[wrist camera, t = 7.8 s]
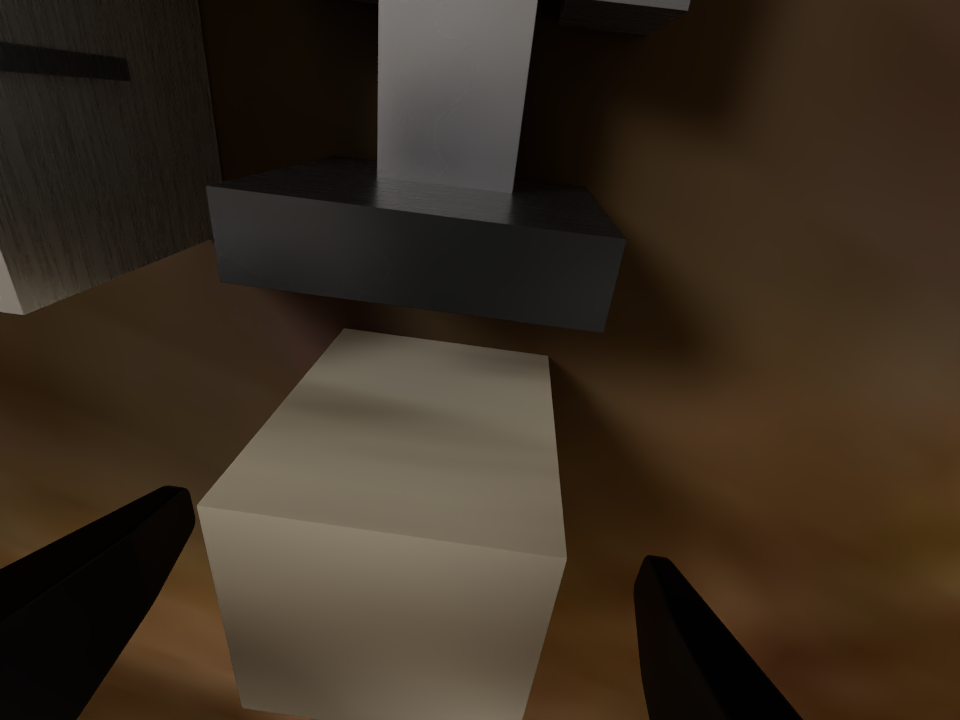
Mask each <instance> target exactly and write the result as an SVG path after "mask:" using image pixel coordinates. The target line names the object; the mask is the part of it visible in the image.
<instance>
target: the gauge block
mask: <svg viewBox="0 0 960 720" xmlns="http://www.w3.org/2000/svg"><path fill="white" fill-rule="evenodd" d="M197 509H198V513H199V518H200V522H201V527H202V531H203V536H204V540H205V545H206V549H207V554H208V558H209V563H210V567H211V571H212V576H213V580H214V585H215V589H216V594H217V598H218V603H219V607H220V612H221V616H222V621H223V625H224V629H225V634H226V638H227V643H228V647H229V652H230V656H231V661H232V665H233V670H234V674H235V679H236V683H237V688H238V692H239V696H240V701H241V705H242V708H246V709H252V710H259V711H265V712H272V713H278V714H285V715H291V716H298V717H304V718H311V719H317V720H522V719H523V715H524V712H525V708H526V705H527V701H528V697H529V694H530V690H531V687H532V683H533V679H534V676H535V672H536V669H537V665H538V661H539V658H540V654H541V651H542V647H543V643H544V640H545V636H546V633H547V629H548V625H549V622H550V618H551V615H552V611H553V608H554V604H555V600H556V597H557V593H558V590H559V586H560V582H561V579H562V575H563V572H564V568H565V564H566V561H567V553H566V542H565V532H564V521H563V510H562V500H561V489H560V478H559V468H558V457H557V446H556V436H555V425H554V414H553V404H552V393H551V383H550V372H549V361H548V356H546V355H538V354H531V353H523V352H516V351H508V350H501V349H494V348H486V347H479V346H471V345H464V344H457V343H449V342H442V341H434V340H427V339H419V338H412V337H405V336H397V335H390V334H382V333H375V332H368V331H360V330H353V329H345V328H344V329H343V330H342V331H341V333H340V334H339V335H338V336H337V338H336V339H335V340H334V341H333V342H332V344H331V345H330V346H329V347H328V348H327V350H326V351H325V352H324V353H323V354H322V356H321V357H320V358H319V359H318V360H317V362H316V363H315V364H314V365H313V366H312V368H311V369H310V370H309V371H308V372H307V374H306V375H305V376H304V377H303V378H302V380H301V381H300V382H299V383H298V384H297V386H296V387H295V388H294V389H293V390H292V392H291V393H290V394H289V395H288V396H287V398H286V399H285V400H284V401H283V402H282V404H281V405H280V406H279V407H278V408H277V410H276V411H275V412H274V413H273V414H272V416H271V417H270V418H269V419H268V420H267V422H266V423H265V424H264V425H263V426H262V428H261V429H260V430H259V431H258V432H257V434H256V435H255V436H254V437H253V438H252V440H251V441H250V442H249V443H248V444H247V446H246V447H245V448H244V449H243V450H242V452H241V453H240V454H239V455H238V457H237V458H236V459H235V460H234V461H233V463H232V464H231V465H230V466H229V467H228V469H227V470H226V471H225V472H224V473H223V475H222V476H221V477H220V478H219V479H218V481H217V482H216V483H215V484H214V485H213V487H212V488H211V489H210V490H209V491H208V493H207V494H206V495H205V496H204V497H203V499H202V500H201V501H200V502H199V503H198V505H197Z"/></svg>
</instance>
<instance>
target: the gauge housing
mask: <svg viewBox="0 0 960 720" xmlns="http://www.w3.org/2000/svg"><path fill="white" fill-rule="evenodd" d="M344 1H353V2H361V3H370V4H378V5H379V0H344ZM689 4H690V0H561V6H560V13H559V20H558V26H567V27H575V28H584V29H593V30H601V31H610V32H618V33H627V34H635V35H644V36H648V35H650V34H651V33H653V32H655V31H656V30H658V29H659V28H661V27H663V26H664V25H666V24H667V23H669V22H671V21H672V20H674V19H675V18H677V17H679V16H680V15H682V14H683V13H685V12H687V11H688V8H689ZM220 182H222V175H221V167H220V160H219V152H218V145H217V138H216V130H215V123H214V115H213V108H212V100H211V93H210V85H209V78H208V70H207V63H206V55H205V48H204V40H203V33H202V25H201V18H200V11H199V3H198V0H0V312H6V313H13V314H20V315H25V314H27V313H30V312H32V311H35V310H37V309H40V308H42V307H45V306H47V305H50V304H52V303H55V302H57V301H60V300H62V299H65V298H67V297H70V296H72V295H74V294H77V293H79V292H82V291H84V290H87V289H89V288H92V287H94V286H97V285H99V284H102V283H104V282H107V281H109V280H112V279H114V278H116V277H119V276H121V275H124V274H126V273H129V272H131V271H134V270H136V269H139V268H141V267H144V266H146V265H149V264H151V263H154V262H156V261H158V260H161V259H163V258H166V257H168V256H171V255H173V254H176V253H178V252H181V251H183V250H186V249H188V248H191V247H193V246H196V245H198V244H200V243H203V242H205V241H208V240H210V239H213V238H214V237H213V231H212V224H211V217H210V211H209V204H208V197H207V191H206V186H207V185H211V184H216V183H220Z"/></svg>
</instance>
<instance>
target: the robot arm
mask: <svg viewBox="0 0 960 720" xmlns="http://www.w3.org/2000/svg"><path fill="white" fill-rule="evenodd" d="M194 525H195V514H194V509H193V505H192V501H191V496H190V493H189V491H188V490H187V489H186V488H183V487H176V486H163V487H161V488H159V489H157V490H155V491H153V492H151V493H149V494H147V495H145V496H143V497H141V498H139V499H137V500H135V501H133V502H131V503H129V504H127V505H125V506H123V507H121V508H119V509H118V510H116V511H114V512H112V513H110V514H108V515H106V516H104V517H102V518H100V519H98V520H96V521H94V522H92V523H90V524H88V525H86V526H84V527H82V528H80V529H78V530H76V531H74V532H72V533H70V534H68V535H67V536H65V537H63V538H61V539H59V540H57V541H55V542H53V543H51V544H49V545H47V546H45V547H43V548H41V549H39V550H37V551H35V552H33V553H31V554H29V555H27V556H25V557H23V558H21V559H19V560H17V561H16V562H14V563H12V564H10V565H8V566H6V567H4V568H2V569H0V720H77V718H78V717H79V715H80V714H81V712H82V711H83V709H84V708H85V706H86V705H87V703H88V702H89V700H90V699H91V697H92V696H93V694H94V693H95V691H96V690H97V688H98V687H99V685H100V684H101V682H102V681H103V679H104V678H105V676H106V675H107V673H108V672H109V670H110V669H111V667H112V666H113V664H114V663H115V661H116V660H117V658H118V657H119V655H120V654H121V652H122V651H123V649H124V648H125V646H126V645H127V643H128V641H129V640H130V638H131V637H132V635H133V634H134V632H135V631H136V629H137V628H138V626H139V625H140V623H141V622H142V620H143V619H144V617H145V616H146V614H147V613H148V611H149V610H150V608H151V606H152V605H153V603H154V601H155V600H156V598H157V596H158V594H159V593H160V591H161V589H162V587H163V585H164V583H165V581H166V580H167V578H168V576H169V574H170V572H171V570H172V568H173V566H174V565H175V563H176V561H177V559H178V557H179V555H180V553H181V552H182V550H183V548H184V546H185V544H186V542H187V540H188V538H189V537H190V535H191V533H192V531H193V528H194ZM634 605H635V615H636V626H637V637H638V647H639V658H640V668H641V676H642V683H643V689H644V694H645V699H646V704H647V709H648V714H649V719H650V720H803V719H802V718H801V716H800V715H799V714H798V713H797V712H796V710H795V709H794V708H793V707H792V706H791V704H790V703H789V702H788V701H787V700H786V698H785V697H784V696H783V695H782V694H781V692H780V691H779V690H778V689H777V688H776V686H775V685H774V684H773V683H772V682H771V680H770V679H769V678H768V677H767V676H766V674H765V673H764V672H763V671H762V670H761V668H760V667H759V666H758V665H757V664H756V662H755V661H754V660H753V659H752V658H751V656H750V655H749V654H748V653H747V652H746V650H745V649H744V648H743V647H742V646H741V644H740V643H739V642H738V641H737V640H736V638H735V637H734V636H733V635H732V634H731V632H730V631H729V630H728V629H727V628H726V626H725V625H724V624H723V623H722V622H721V620H720V619H719V618H718V617H717V616H716V614H715V613H714V612H713V611H712V610H711V608H710V607H709V606H708V605H707V604H706V602H705V601H704V600H703V599H702V598H701V596H700V595H699V594H698V593H697V592H696V590H695V589H694V588H693V587H692V586H691V584H690V583H689V582H688V581H687V580H686V578H685V577H684V576H683V575H682V574H681V572H680V571H679V570H678V569H677V568H676V566H675V565H674V564H673V563H672V562H671V561H670V560H669V559H668V558H665V557H660V556H653V555H647V556H646V557H645V558H644V560H643V562H642V565H641V567H640V570H639V573H638V575H637V578H636V580H635V584H634Z"/></svg>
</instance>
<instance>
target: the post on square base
mask: <svg viewBox="0 0 960 720" xmlns="http://www.w3.org/2000/svg"><path fill="white" fill-rule="evenodd" d="M537 6H538V0H379V18H378V148H377V161H373V160H365V159H357V158H349V157H341V156H332V157H328V158H324V159H319V160H315V161H311V162H307V163H302V164H298V165H294V166H289V167H285V168H281V169H276V170H272V171H268V172H263V173H259V174H255V175H250V176H246V177H242V178H237V179H233V180H229V181H224V182H220V183H216V184H211V185H207V186H206V191H207V197H208V204H209V211H210V217H211V224H212V231H213V237H214V244H215V251H216V257H217V264H218V271H219V278H220V282H222V283H229V284H237V285H244V286H252V287H259V288H267V289H274V290H282V291H289V292H297V293H305V294H312V295H320V296H327V297H335V298H342V299H350V300H357V301H365V302H372V303H380V304H388V305H395V306H403V307H410V308H418V309H425V310H433V311H440V312H448V313H455V314H463V315H471V316H478V317H486V318H493V319H501V320H508V321H516V322H523V323H531V324H538V325H546V326H554V327H561V328H569V329H576V330H584V331H591V332H599V333H603V332H604V328H605V324H606V320H607V316H608V312H609V308H610V304H611V300H612V296H613V292H614V288H615V284H616V280H617V276H618V272H619V268H620V264H621V260H622V256H623V252H624V248H625V244H626V240H627V239H626V238H625V237H624V235H623V234H622V233H621V232H620V230H619V229H618V228H617V227H616V225H615V224H614V223H613V222H612V220H611V219H610V218H609V217H608V215H607V214H606V213H605V211H604V210H603V209H602V208H601V206H600V205H599V204H598V203H597V201H596V200H595V199H594V198H593V196H592V195H591V194H590V192H589V191H588V190H587V189H586V187H581V186H573V185H565V184H557V183H549V182H541V181H533V180H525V179H517V178H515V171H516V164H517V156H518V149H519V141H520V134H521V126H522V119H523V111H524V104H525V96H526V89H527V81H528V73H529V66H530V58H531V51H532V43H533V36H534V28H535V21H536V13H537Z"/></svg>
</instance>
